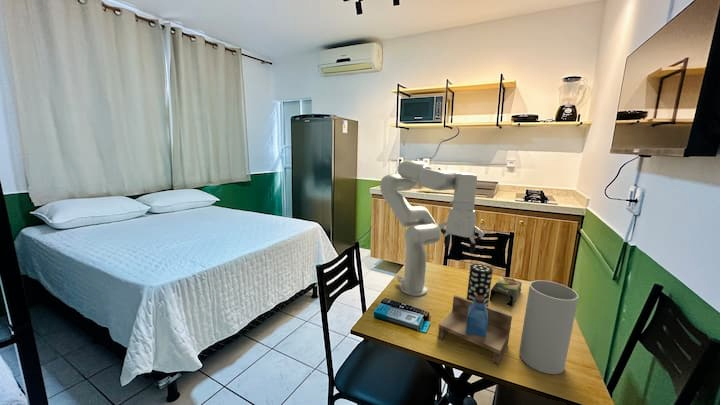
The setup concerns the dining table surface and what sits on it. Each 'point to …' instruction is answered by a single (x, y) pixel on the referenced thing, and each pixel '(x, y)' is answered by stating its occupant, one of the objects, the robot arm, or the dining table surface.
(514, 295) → the juice carton
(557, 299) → the cylinder vase
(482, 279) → the spotted tube
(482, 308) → the perfume bottle
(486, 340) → the brown wooden bench
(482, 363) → the dining table surface
